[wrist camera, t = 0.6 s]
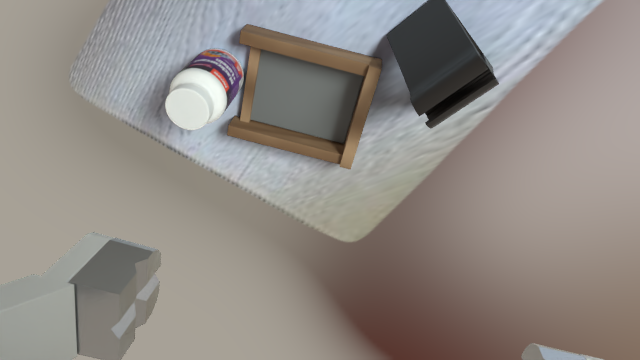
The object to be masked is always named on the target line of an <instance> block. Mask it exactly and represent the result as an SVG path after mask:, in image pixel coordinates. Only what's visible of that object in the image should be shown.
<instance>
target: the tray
mask: <svg viewBox="0 0 640 360" xmlns="http://www.w3.org/2000/svg"><path fill="white" fill-rule="evenodd" d="M239 43H240V44H244V45H248V46H251V48H250V55H249V62H248V69H247V76H246V83H245V89H244V96H243V103H242V110H241V117H238V116H234V118H233V119H232V121H231V122H230V124H229V126H228V133H227V135H228V136H232V137H236V138H240V139H244V140H248V141H251V142H255V143H259V144H263V145H267V146H271V147H275V148H279V149H283V150H286V151H290V152H294V153H298V154H302V155H306V156H310V157H314V158H318V159H321V160H325V161H329V162H333V163H337V164H340V167H343V168H347V169H351V166H352V163H353V159H354V156H355V153H356V150H357V147H358V143H359V140H360V137H361V134H362V131H363V127H364V124H365V121H366V118H367V115H368V112H369V108H370V105H371V102H372V99H373V96H374V92H375V89H376V86H377V83H378V80H379V76H380V73H381V70H382V59H378V58H374V57H370V56H367V55H363V54H359V53H355V52H351V51H348V50H344V49H340V48H336V47H332V46H329V45H325V44H321V43H317V42H314V41H310V40H306V39H302V38H298V37H295V36H291V35H287V34H283V33H279V32H276V31H272V30H268V29H264V28H260V27H257V26H253V25H249V24H247V25H246V26H245V27H244V28H243V29H242V30H241V33H240V41H239ZM261 49H263V50H267V51H271V52H275V53H278V54H282V55H286V56H290V57H294V58H298V59H301V60H305V61H309V62H313V63H317V64H320V65H324V66H328V67H332V68H336V69H339V70H343V71H347V72H351V73H355V74H358V75H362V76H364V79H363V82H362V85H361V89H360V92H359V96H358V99H357V102H356V106H355V109H354V113H353V116H352V120H351V123H350V126H349V130H348V133H347V137H346V140H345V143H344V144H343V143H339V142H335V141H331V140H327V139H323V138H319V137H316V136H312V135H308V134H304V133H300V132H296V131H292V130H289V129H285V128H281V127H277V126H273V125H269V124H265V123H261V122H258V121H254V120H251V119H250V118H251V112H252V105H253V99H254V93H255V86H256V80H257V74H258V67H259V61H260V55H261Z"/></svg>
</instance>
